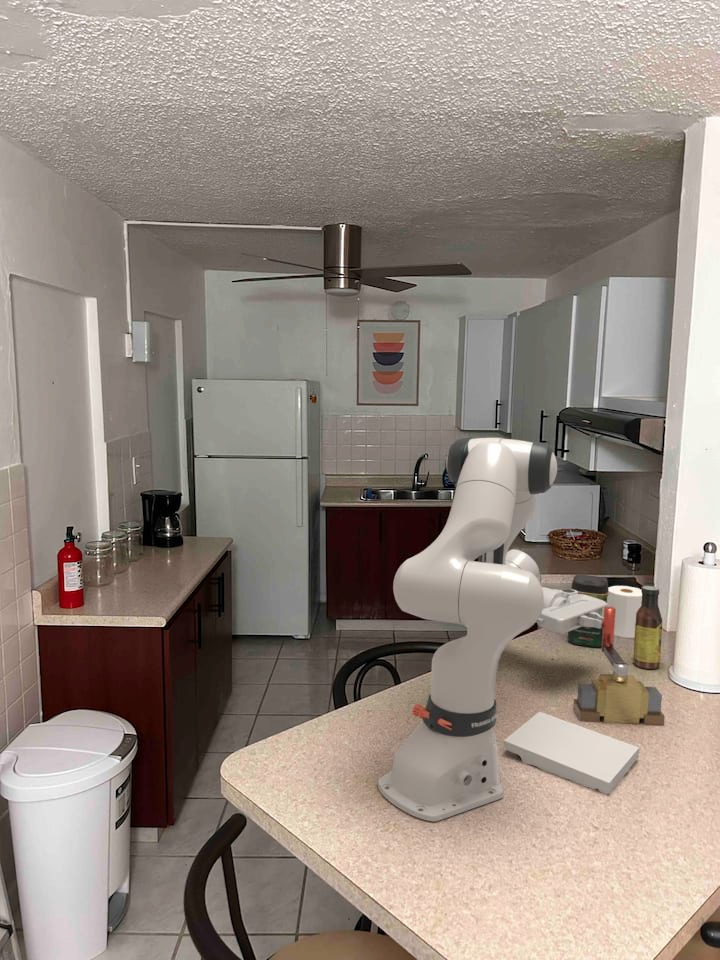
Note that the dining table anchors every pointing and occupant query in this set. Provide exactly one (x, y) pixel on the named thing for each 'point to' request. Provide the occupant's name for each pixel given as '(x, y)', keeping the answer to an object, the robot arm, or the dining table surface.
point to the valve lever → (607, 646)
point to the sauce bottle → (648, 630)
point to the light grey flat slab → (572, 752)
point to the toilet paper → (624, 608)
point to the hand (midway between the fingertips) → (604, 623)
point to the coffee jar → (595, 589)
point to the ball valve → (618, 701)
